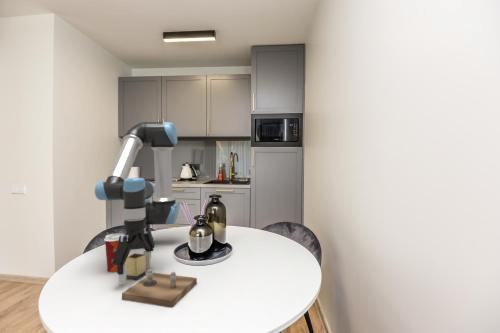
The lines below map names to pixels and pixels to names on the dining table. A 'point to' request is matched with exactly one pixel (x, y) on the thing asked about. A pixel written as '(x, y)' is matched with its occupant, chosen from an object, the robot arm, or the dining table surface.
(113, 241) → the paper cup
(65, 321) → the dining table surface
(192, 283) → the pin board
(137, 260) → the sleeve
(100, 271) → the dining table surface
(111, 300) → the dining table surface
